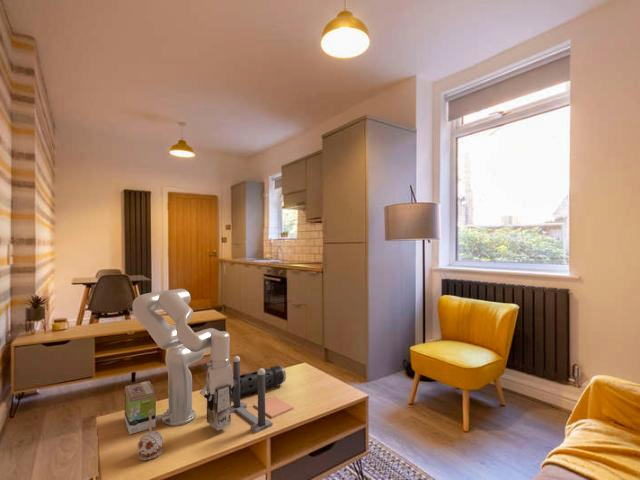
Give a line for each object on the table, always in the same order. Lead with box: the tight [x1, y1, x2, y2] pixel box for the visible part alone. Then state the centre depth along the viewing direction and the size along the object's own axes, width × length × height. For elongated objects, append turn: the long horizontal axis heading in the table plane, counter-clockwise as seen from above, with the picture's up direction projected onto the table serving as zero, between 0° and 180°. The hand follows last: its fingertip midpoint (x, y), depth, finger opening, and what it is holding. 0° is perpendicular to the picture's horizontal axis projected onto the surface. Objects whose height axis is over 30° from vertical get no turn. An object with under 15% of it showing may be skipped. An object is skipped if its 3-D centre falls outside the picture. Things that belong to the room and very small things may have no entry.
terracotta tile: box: [253, 396, 295, 419], centre depth 153 cm, size 12×15×1 cm
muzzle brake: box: [231, 365, 287, 397], centre depth 171 cm, size 10×28×10 cm, turn 124°
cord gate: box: [231, 355, 274, 434], centre depth 144 cm, size 8×25×24 cm, turn 42°
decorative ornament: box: [136, 412, 163, 461], centre depth 119 cm, size 8×8×15 cm
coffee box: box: [206, 385, 232, 431], centre depth 136 cm, size 9×6×16 cm
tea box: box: [124, 380, 157, 435], centre depth 141 cm, size 15×10×15 cm, turn 37°
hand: (218, 405), depth 136 cm, fingers closed on coffee box, 6 cm apart
